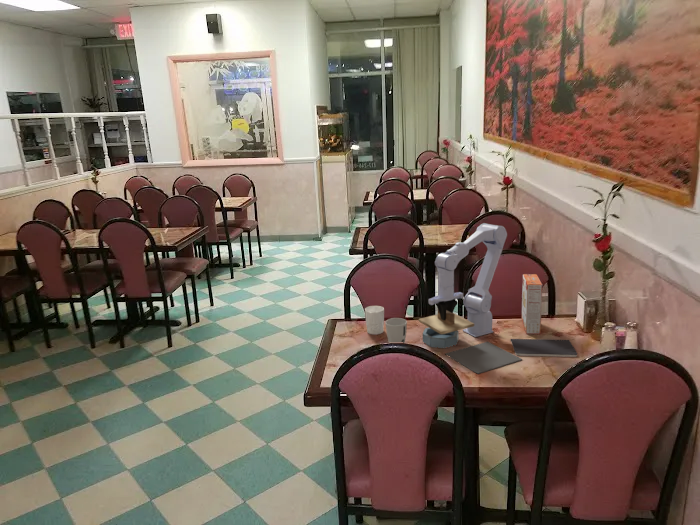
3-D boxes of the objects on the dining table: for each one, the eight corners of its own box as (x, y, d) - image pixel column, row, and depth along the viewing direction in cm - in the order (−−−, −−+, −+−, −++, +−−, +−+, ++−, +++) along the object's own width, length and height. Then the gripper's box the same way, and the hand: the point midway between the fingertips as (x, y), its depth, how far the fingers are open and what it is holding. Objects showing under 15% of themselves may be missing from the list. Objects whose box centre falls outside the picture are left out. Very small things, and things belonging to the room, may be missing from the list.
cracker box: (520, 321, 213) (522, 273, 207) (535, 321, 212) (537, 273, 206) (524, 334, 200) (526, 283, 194) (540, 334, 198) (543, 284, 193)
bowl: (444, 331, 206) (444, 323, 205) (464, 342, 195) (464, 334, 194) (417, 338, 201) (416, 330, 200) (436, 350, 189) (436, 341, 188)
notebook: (568, 343, 191) (510, 342, 194) (569, 339, 190) (510, 338, 194) (577, 358, 178) (515, 357, 182) (578, 354, 178) (515, 353, 182)
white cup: (388, 329, 211) (387, 307, 208) (378, 336, 204) (378, 313, 202) (371, 326, 215) (371, 304, 212) (362, 333, 209) (361, 310, 206)
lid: (450, 313, 203) (450, 302, 202) (474, 326, 190) (474, 313, 189) (418, 321, 197) (418, 309, 196) (441, 334, 184) (441, 321, 182)
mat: (487, 342, 194) (487, 341, 194) (522, 360, 178) (522, 359, 178) (445, 354, 185) (445, 353, 185) (477, 374, 170) (477, 373, 170)
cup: (406, 350, 190) (405, 326, 188) (384, 349, 192) (384, 325, 189) (408, 342, 198) (407, 318, 195) (387, 341, 200) (386, 317, 197)
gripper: (455, 279, 196) (455, 312, 199) (423, 285, 190) (424, 319, 193) (466, 283, 190) (466, 317, 193) (434, 290, 184) (434, 325, 187)
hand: (446, 318), depth 193 cm, fingers closed on lid
